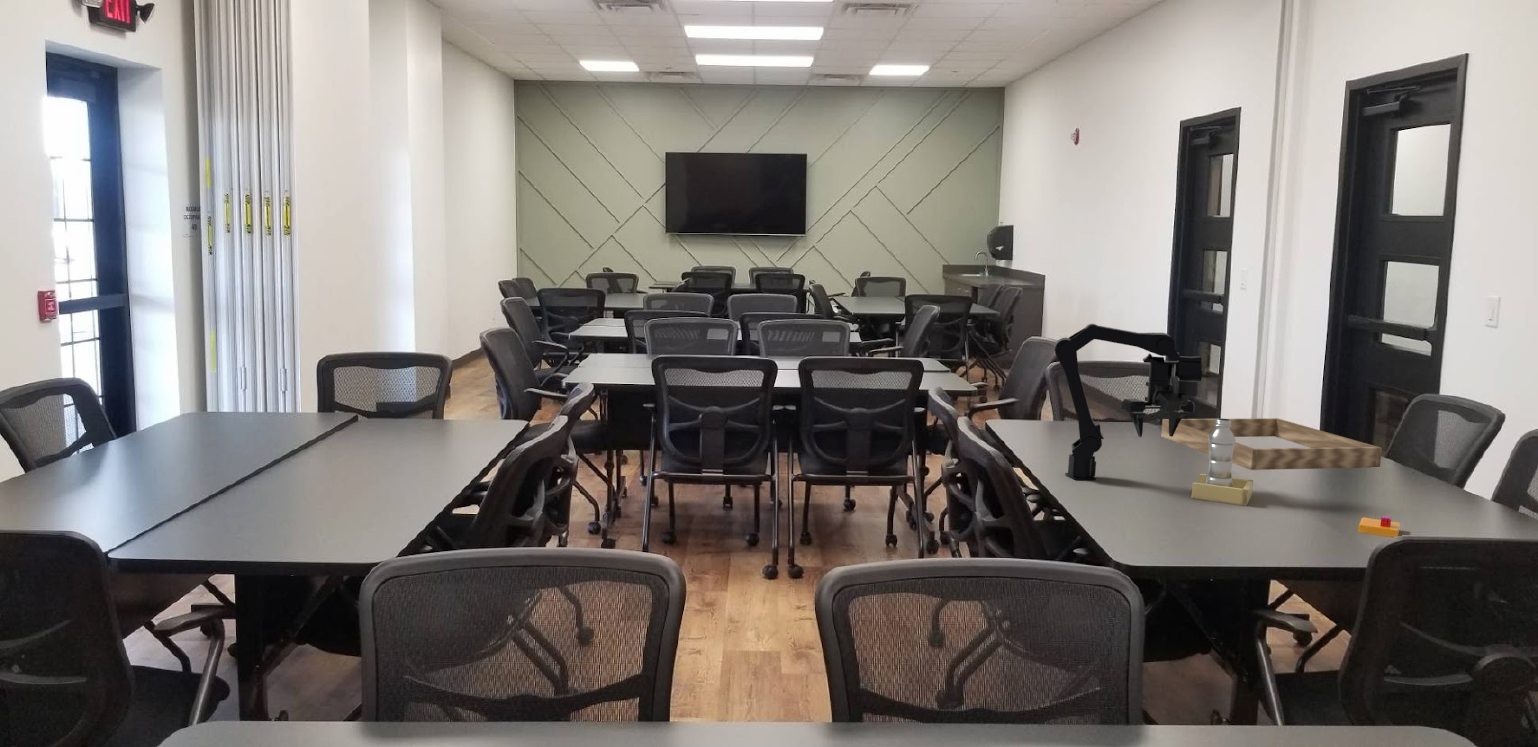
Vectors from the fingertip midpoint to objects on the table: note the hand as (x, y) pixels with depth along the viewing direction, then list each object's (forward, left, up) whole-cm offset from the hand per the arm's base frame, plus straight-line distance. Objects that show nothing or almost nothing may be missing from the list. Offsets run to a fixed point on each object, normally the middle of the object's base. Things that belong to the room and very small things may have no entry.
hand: (1155, 436), depth 298 cm
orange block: (+30, -49, -14) cm, 59 cm away
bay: (+11, -15, -13) cm, 23 cm away
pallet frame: (+61, +38, -13) cm, 73 cm away
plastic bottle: (+10, -15, -13) cm, 22 cm away
